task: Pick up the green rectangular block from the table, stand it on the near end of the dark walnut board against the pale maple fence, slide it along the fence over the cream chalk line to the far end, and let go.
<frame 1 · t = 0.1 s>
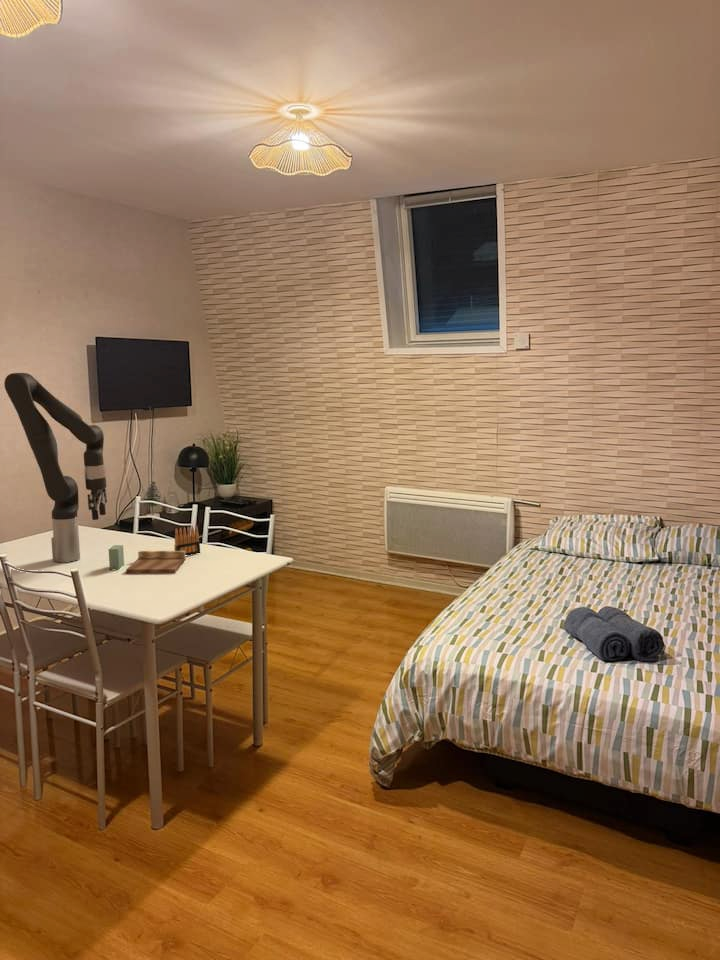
hand: (99, 517, 264), 17 cm above the table, tool pointing down, fingers open, 8 cm apart
green rectangular block: (117, 567, 257), on the table
ammunition clip: (187, 555, 274), on the table
walnut board: (156, 566, 258), on the table
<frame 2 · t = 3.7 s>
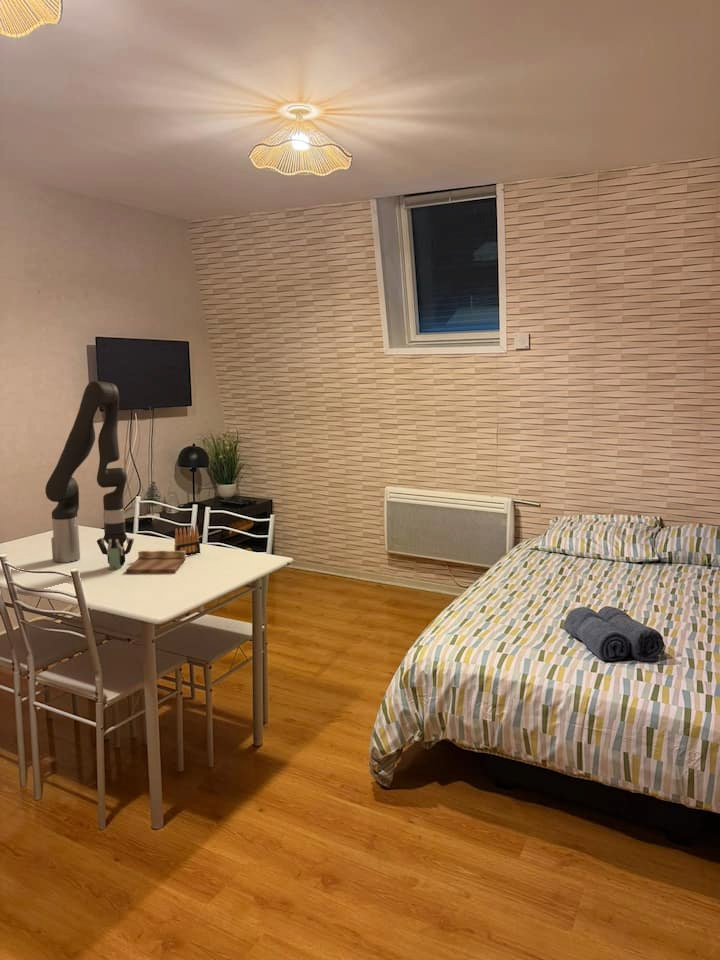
hand: (116, 564, 256), 1 cm above the table, tool pointing down, fingers closed on green rectangular block, 3 cm apart
green rectangular block: (116, 567, 257), on the table, touching gripper
everything else where it was.
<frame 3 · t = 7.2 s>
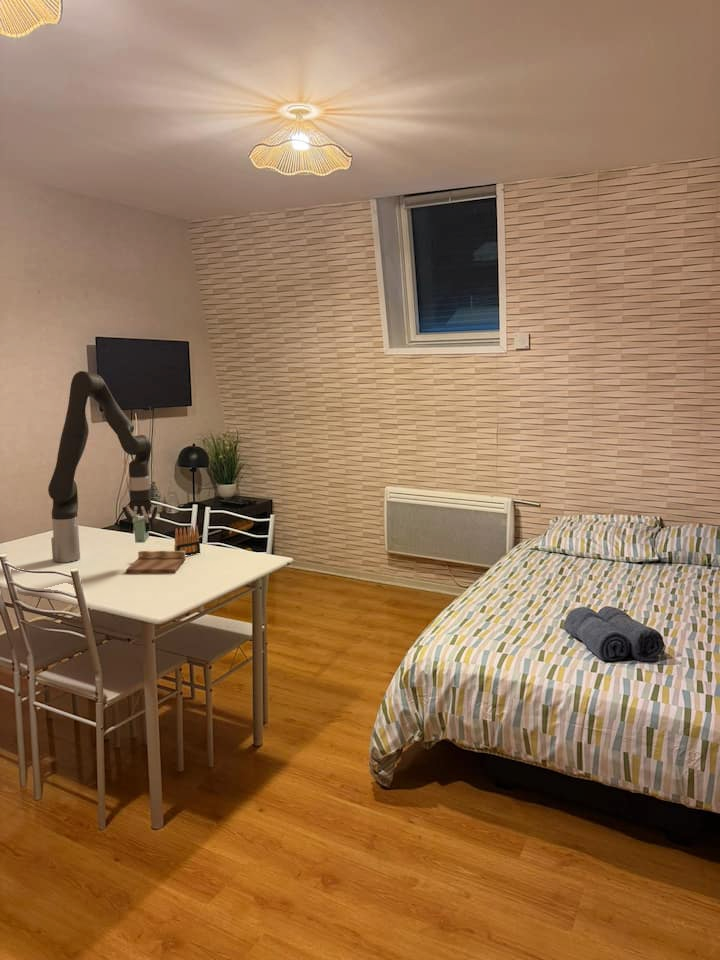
hand: (142, 531, 258), 13 cm above the table, tool pointing down, fingers closed on green rectangular block, 3 cm apart
green rectangular block: (142, 539, 259), point 10 cm above the table, tilted 6°, touching gripper
everything else where it was.
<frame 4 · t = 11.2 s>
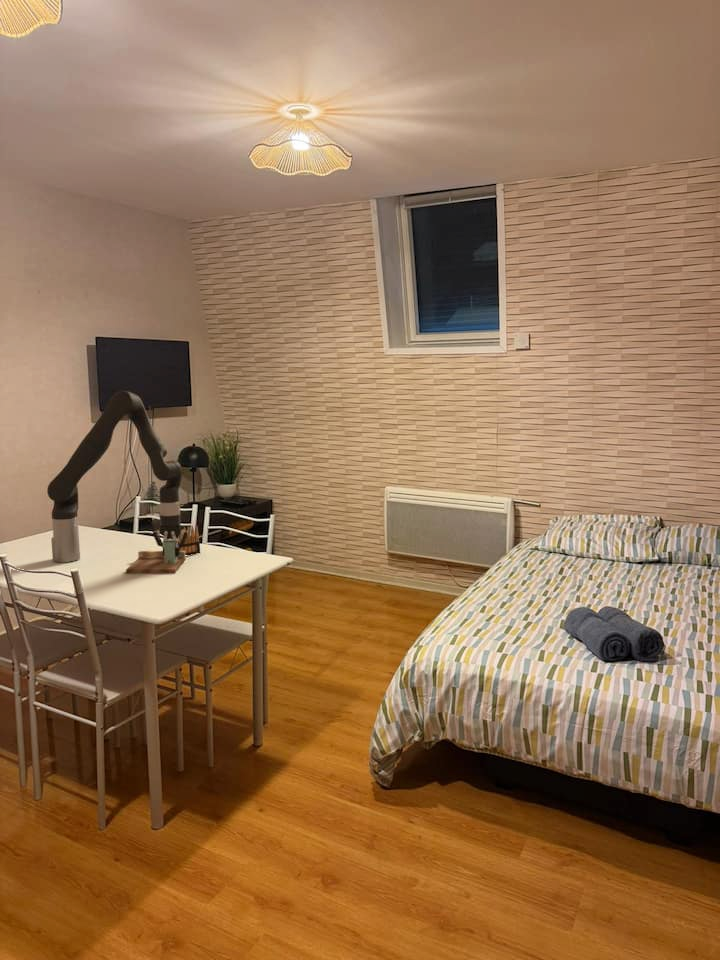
hand: (171, 556, 260), 3 cm above the table, tool pointing down, fingers closed on green rectangular block, 3 cm apart
green rectangular block: (171, 561, 260), point 2 cm above the table, touching gripper
everything else where it was.
when the fingers open (3 cm above the table, at t = 12.6 s): green rectangular block stays where it is, resting on walnut board.
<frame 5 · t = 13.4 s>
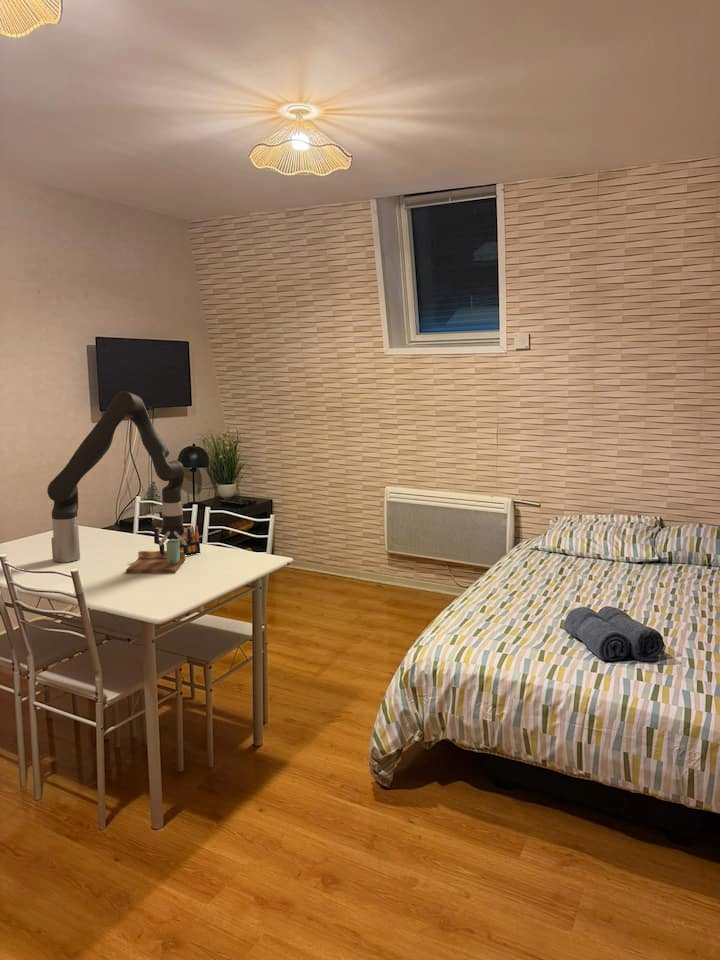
hand: (174, 554, 260), 4 cm above the table, tool pointing down, fingers open, 8 cm apart
green rectangular block: (173, 561, 260), point 1 cm above the table, touching walnut board
everything else where it was.
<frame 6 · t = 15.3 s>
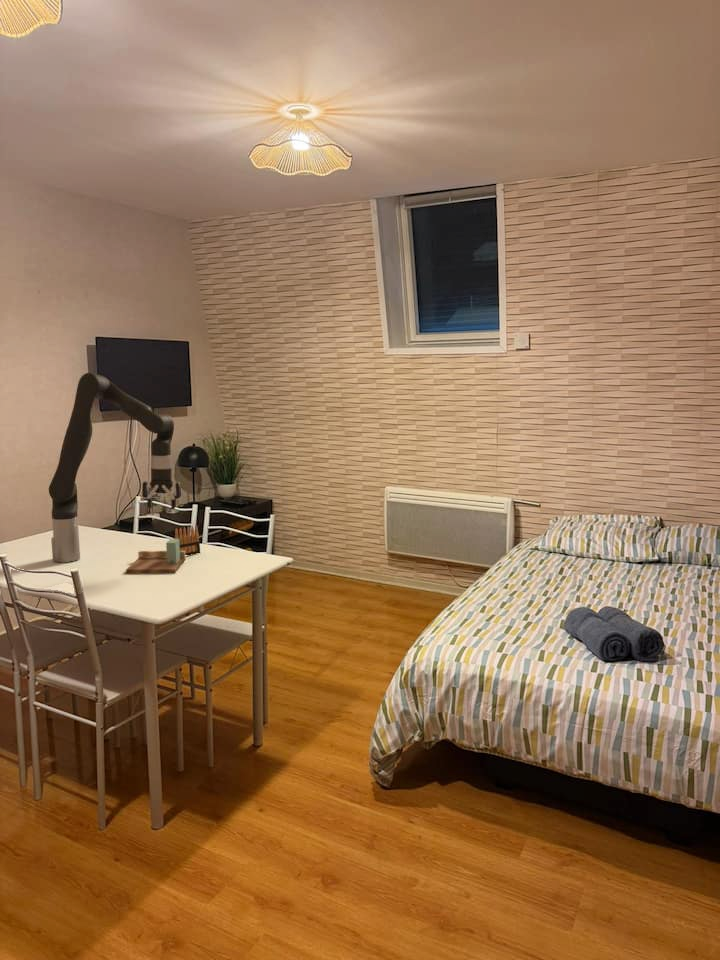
hand: (162, 508, 259), 22 cm above the table, tool pointing down, fingers open, 8 cm apart
nothing on the table moved.
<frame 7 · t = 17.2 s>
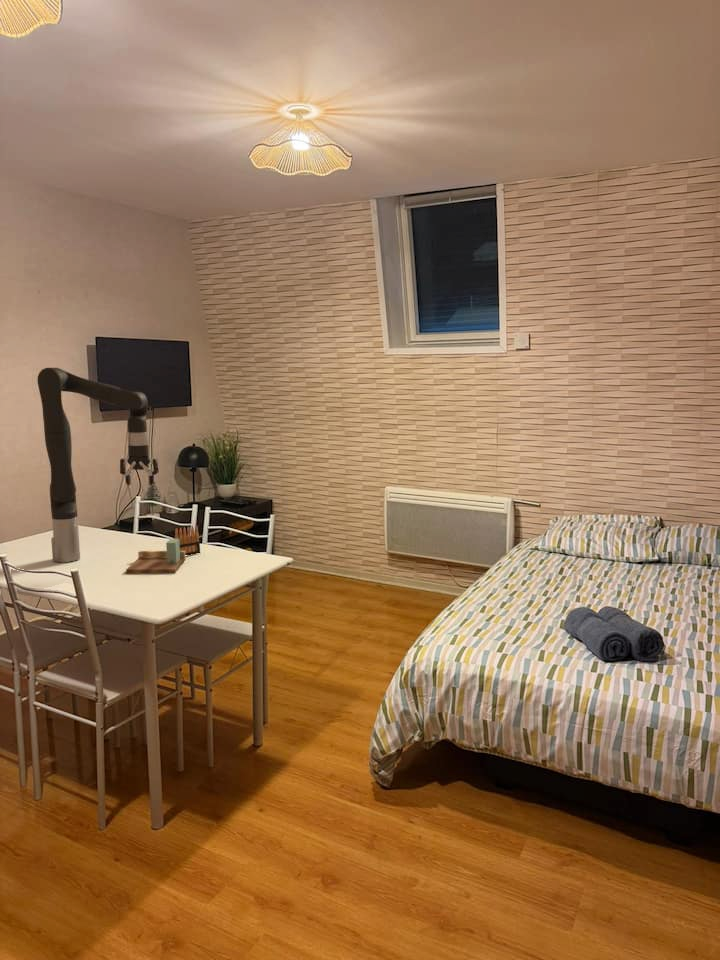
hand: (140, 484, 263), 30 cm above the table, tool pointing down, fingers open, 8 cm apart
nothing on the table moved.
at the end: green rectangular block 0.4 cm from the target spot on the walnut board, point 1.5 cm above the walnut board's base; green rectangular block tilted 0°; the gripper is holding nothing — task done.
